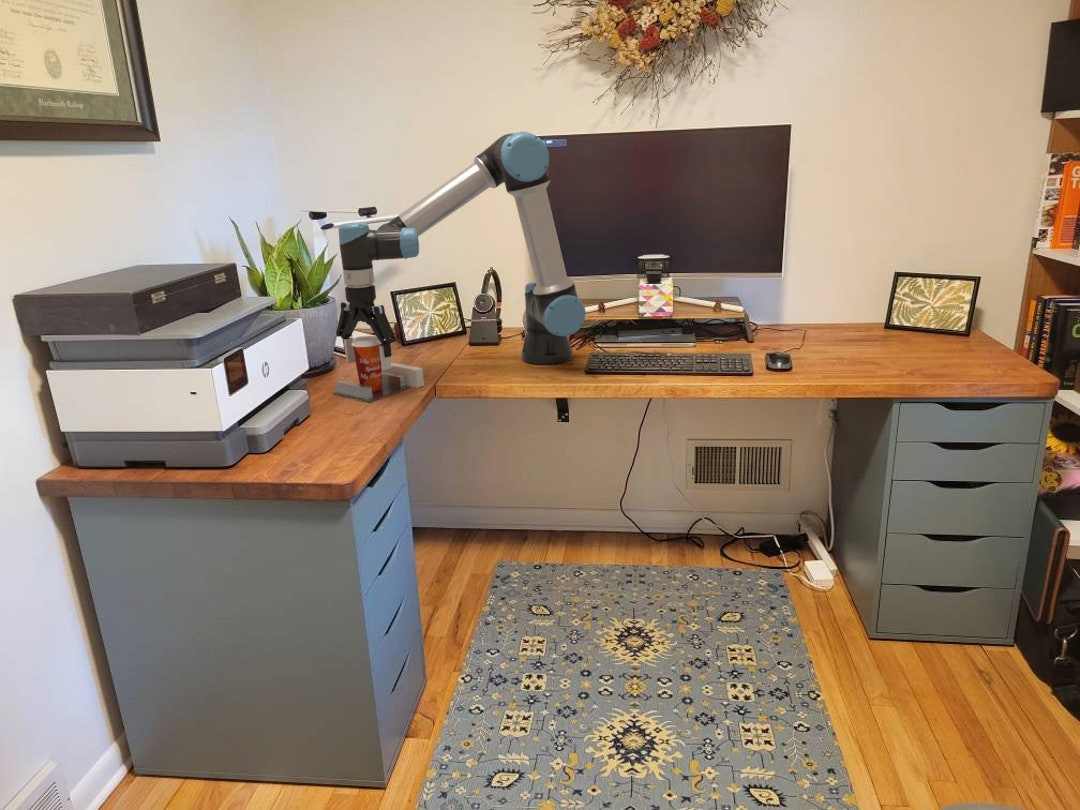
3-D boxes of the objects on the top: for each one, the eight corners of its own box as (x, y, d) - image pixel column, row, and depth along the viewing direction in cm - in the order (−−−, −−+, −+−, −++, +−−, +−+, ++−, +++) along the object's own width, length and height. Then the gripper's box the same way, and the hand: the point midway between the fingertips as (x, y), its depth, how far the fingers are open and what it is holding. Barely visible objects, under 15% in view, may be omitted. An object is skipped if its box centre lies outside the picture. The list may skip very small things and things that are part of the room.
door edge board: (424, 385, 208) (422, 368, 206) (417, 388, 206) (416, 370, 204) (378, 376, 218) (376, 359, 216) (371, 378, 216) (369, 361, 214)
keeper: (409, 388, 206) (407, 375, 205) (369, 402, 195) (368, 389, 194) (373, 381, 214) (371, 368, 213) (333, 394, 203) (331, 381, 202)
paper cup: (364, 396, 199) (358, 343, 195) (352, 389, 205) (346, 338, 201) (391, 389, 204) (386, 338, 199) (379, 383, 209) (373, 333, 205)
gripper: (316, 284, 200) (326, 362, 207) (382, 291, 186) (391, 375, 192) (338, 279, 205) (348, 356, 212) (405, 286, 191) (412, 368, 198)
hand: (368, 365), depth 202 cm, fingers open, 13 cm apart
